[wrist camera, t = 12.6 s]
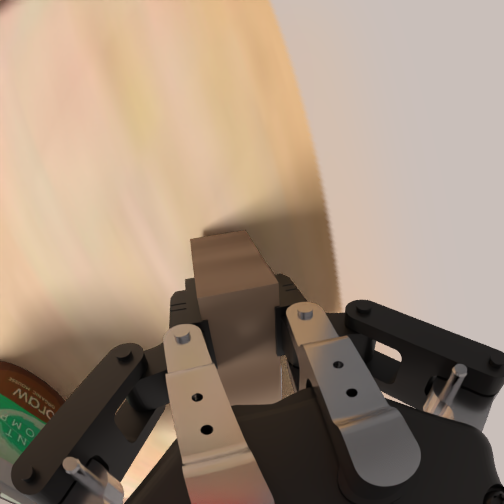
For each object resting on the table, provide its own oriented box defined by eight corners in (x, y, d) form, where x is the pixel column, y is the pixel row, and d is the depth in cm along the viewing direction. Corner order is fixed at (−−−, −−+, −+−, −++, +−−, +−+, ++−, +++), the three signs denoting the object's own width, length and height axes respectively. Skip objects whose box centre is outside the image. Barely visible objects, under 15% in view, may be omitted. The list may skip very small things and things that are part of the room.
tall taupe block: (166, 243, 13) (162, 303, 9) (267, 226, 14) (310, 276, 9) (213, 416, 19) (225, 472, 15) (275, 403, 20) (297, 456, 15)
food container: (115, 410, 17) (108, 533, 8) (88, 439, 18) (80, 538, 9) (-26, 316, 12) (-93, 417, 3) (-32, 362, 13) (-76, 450, 4)
